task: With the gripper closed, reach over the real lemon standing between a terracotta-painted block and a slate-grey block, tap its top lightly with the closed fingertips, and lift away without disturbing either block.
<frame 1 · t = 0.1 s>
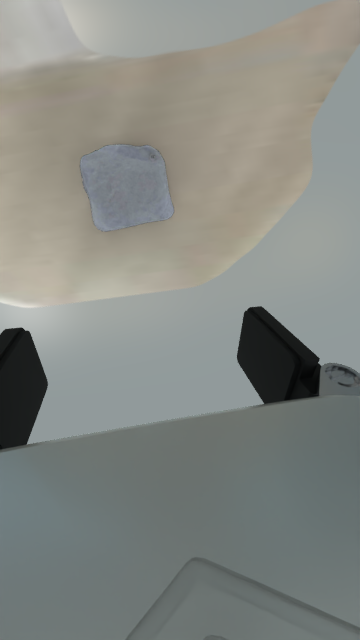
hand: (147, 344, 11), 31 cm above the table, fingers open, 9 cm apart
stone block: (127, 186, 35), on the table
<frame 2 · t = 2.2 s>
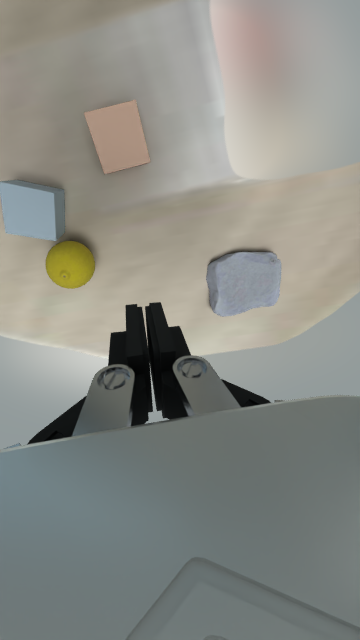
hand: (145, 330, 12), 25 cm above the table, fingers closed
slate block: (43, 207, 30), on the table
lemon: (77, 254, 33), on the table
stone block: (239, 276, 40), on the table
terracotta block: (120, 143, 28), on the table
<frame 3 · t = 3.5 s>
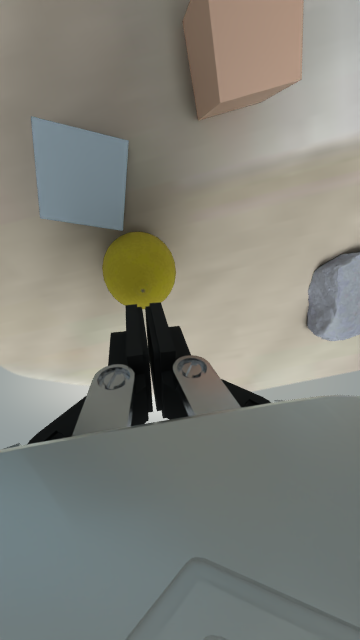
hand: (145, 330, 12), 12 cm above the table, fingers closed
slate block: (92, 180, 18), on the table
lemon: (137, 255, 22), on the table
stone block: (349, 284, 29), on the table
terracotta block: (224, 65, 17), on the table
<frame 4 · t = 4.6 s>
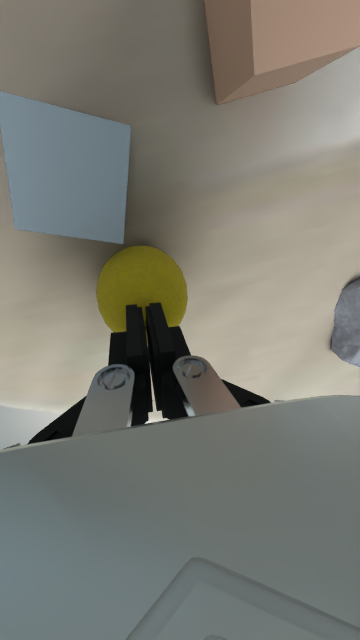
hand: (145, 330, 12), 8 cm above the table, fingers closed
slate block: (85, 179, 15), on the table
lemon: (140, 269, 19), on the table, touching gripper
terracotta block: (252, 34, 13), on the table
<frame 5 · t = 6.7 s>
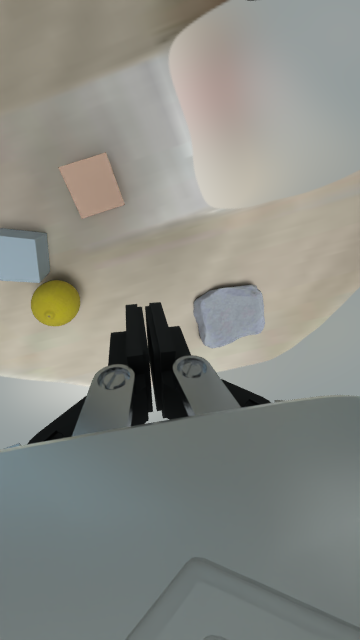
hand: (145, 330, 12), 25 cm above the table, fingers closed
slate block: (27, 250, 31), on the table
lemon: (63, 291, 35), on the table
stone block: (225, 308, 42), on the table
terracotta block: (97, 188, 30), on the table
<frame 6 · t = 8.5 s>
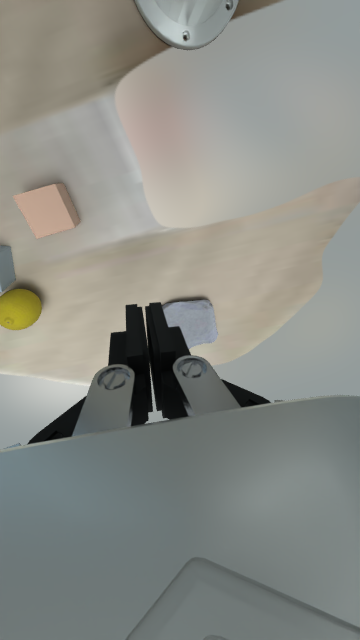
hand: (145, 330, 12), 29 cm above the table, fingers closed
lemon: (29, 297, 39), on the table
stone block: (183, 318, 47), on the table
terracotta block: (55, 208, 33), on the table
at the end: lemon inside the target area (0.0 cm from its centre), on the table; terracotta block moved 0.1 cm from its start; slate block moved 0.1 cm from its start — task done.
